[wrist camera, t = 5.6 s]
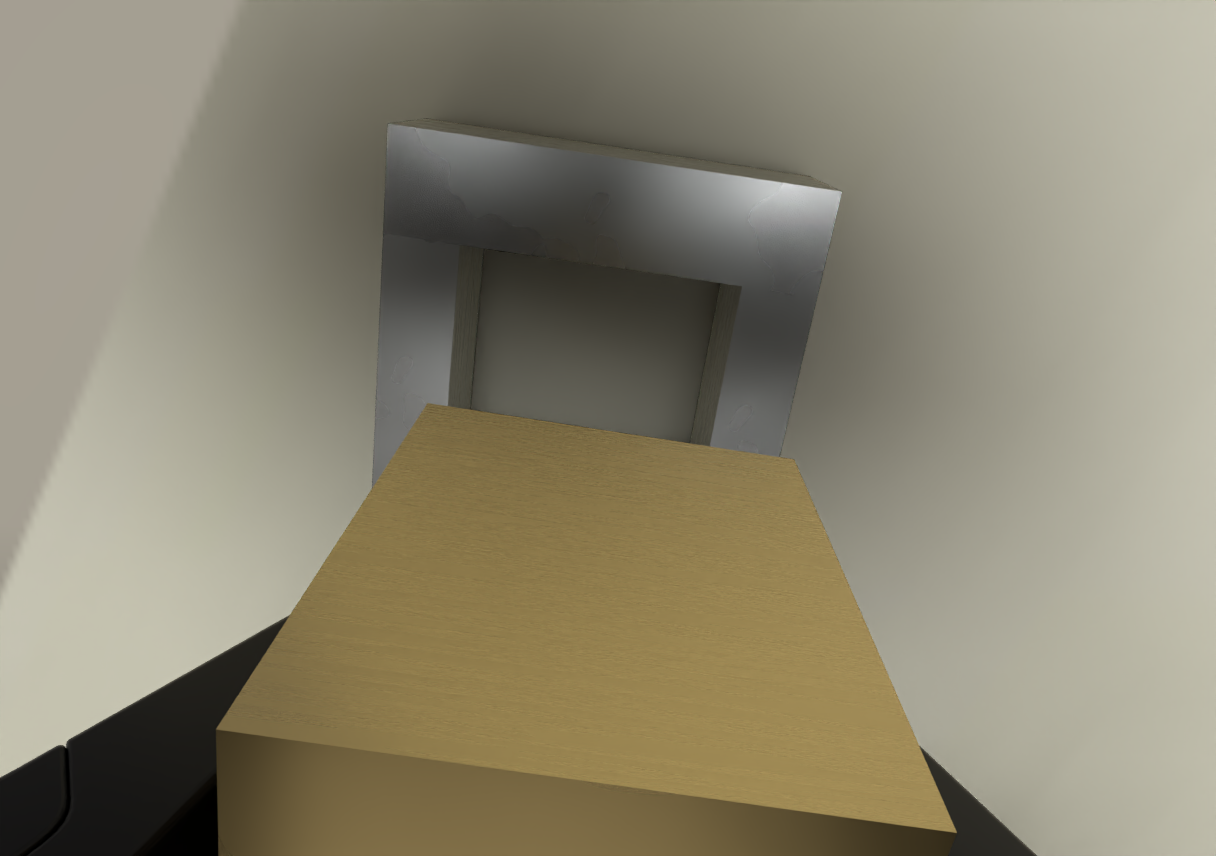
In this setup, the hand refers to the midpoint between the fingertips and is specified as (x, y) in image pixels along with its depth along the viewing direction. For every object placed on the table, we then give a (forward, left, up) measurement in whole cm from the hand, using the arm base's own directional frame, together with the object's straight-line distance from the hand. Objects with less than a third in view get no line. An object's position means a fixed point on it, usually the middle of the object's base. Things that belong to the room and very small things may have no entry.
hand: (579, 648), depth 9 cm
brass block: (0, 0, -1) cm, 1 cm away
